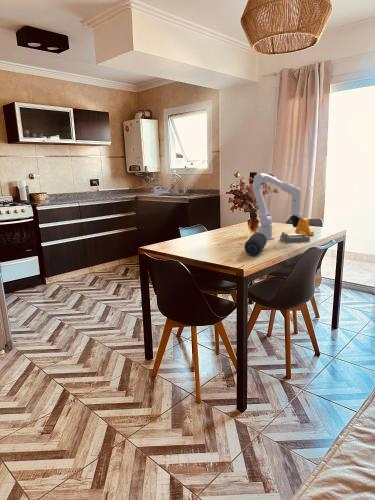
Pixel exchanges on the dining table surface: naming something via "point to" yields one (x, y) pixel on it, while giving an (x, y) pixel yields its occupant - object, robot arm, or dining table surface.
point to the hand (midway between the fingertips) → (295, 227)
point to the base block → (294, 238)
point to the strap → (293, 235)
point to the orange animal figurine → (304, 227)
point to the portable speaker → (255, 244)
